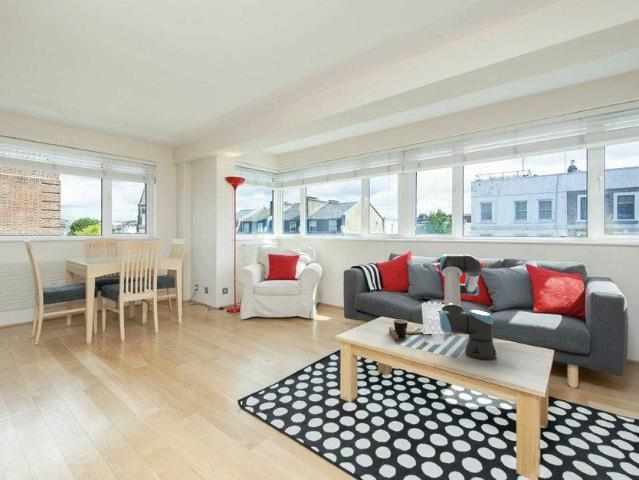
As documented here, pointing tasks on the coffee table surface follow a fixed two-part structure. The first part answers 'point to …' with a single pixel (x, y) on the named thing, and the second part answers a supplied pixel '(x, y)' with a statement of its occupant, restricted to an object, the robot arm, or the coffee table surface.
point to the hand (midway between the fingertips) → (436, 318)
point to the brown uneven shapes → (395, 336)
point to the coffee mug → (401, 328)
